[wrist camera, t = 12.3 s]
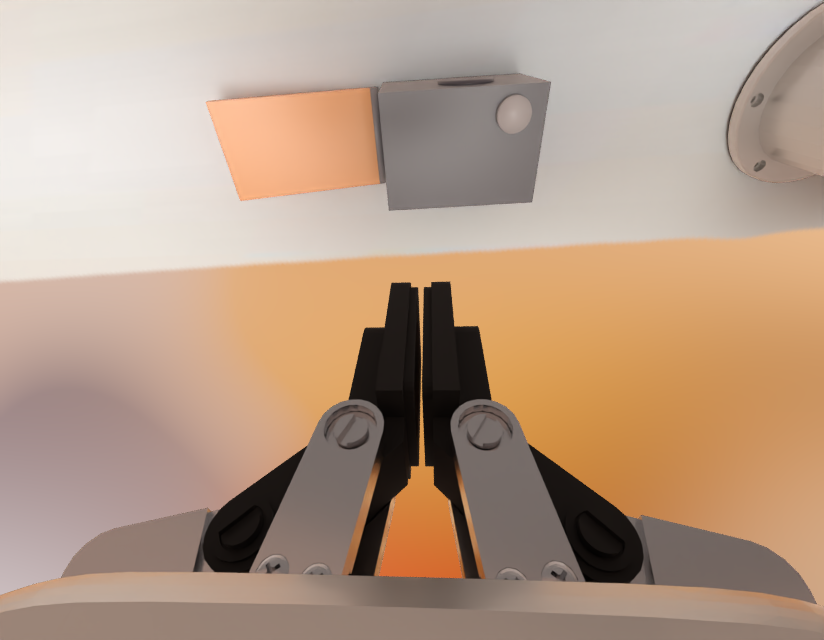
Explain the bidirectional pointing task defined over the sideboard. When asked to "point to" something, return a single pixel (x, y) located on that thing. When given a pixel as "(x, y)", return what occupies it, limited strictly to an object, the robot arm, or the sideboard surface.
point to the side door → (301, 141)
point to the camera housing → (462, 140)
